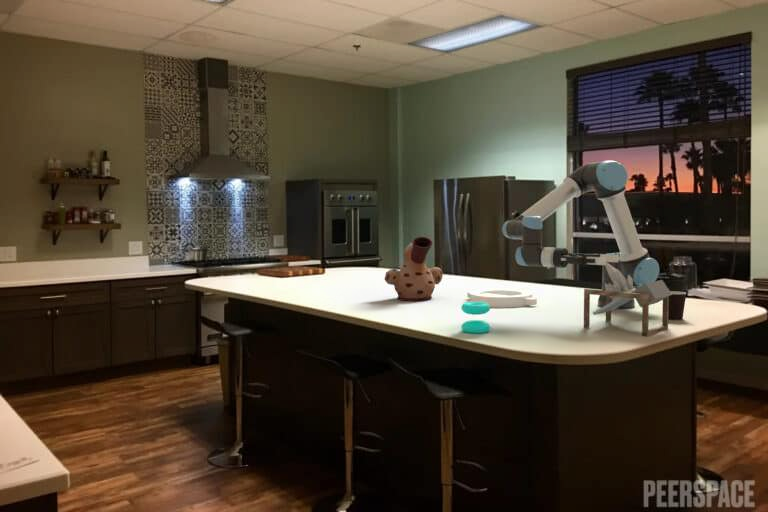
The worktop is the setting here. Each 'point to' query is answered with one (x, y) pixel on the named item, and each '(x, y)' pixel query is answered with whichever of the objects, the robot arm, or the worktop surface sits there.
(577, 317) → the worktop surface
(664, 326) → the stand
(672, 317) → the coffee mug
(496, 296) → the white ring
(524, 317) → the worktop surface
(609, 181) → the robot arm
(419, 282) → the vessel
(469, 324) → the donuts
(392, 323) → the worktop surface
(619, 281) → the crystal
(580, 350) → the worktop surface
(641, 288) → the trapdoor
